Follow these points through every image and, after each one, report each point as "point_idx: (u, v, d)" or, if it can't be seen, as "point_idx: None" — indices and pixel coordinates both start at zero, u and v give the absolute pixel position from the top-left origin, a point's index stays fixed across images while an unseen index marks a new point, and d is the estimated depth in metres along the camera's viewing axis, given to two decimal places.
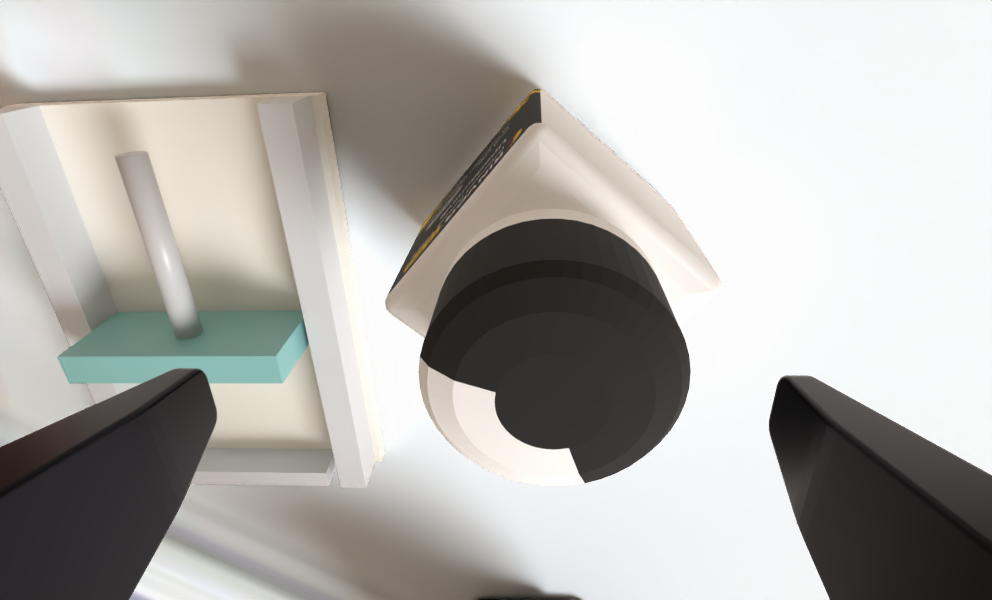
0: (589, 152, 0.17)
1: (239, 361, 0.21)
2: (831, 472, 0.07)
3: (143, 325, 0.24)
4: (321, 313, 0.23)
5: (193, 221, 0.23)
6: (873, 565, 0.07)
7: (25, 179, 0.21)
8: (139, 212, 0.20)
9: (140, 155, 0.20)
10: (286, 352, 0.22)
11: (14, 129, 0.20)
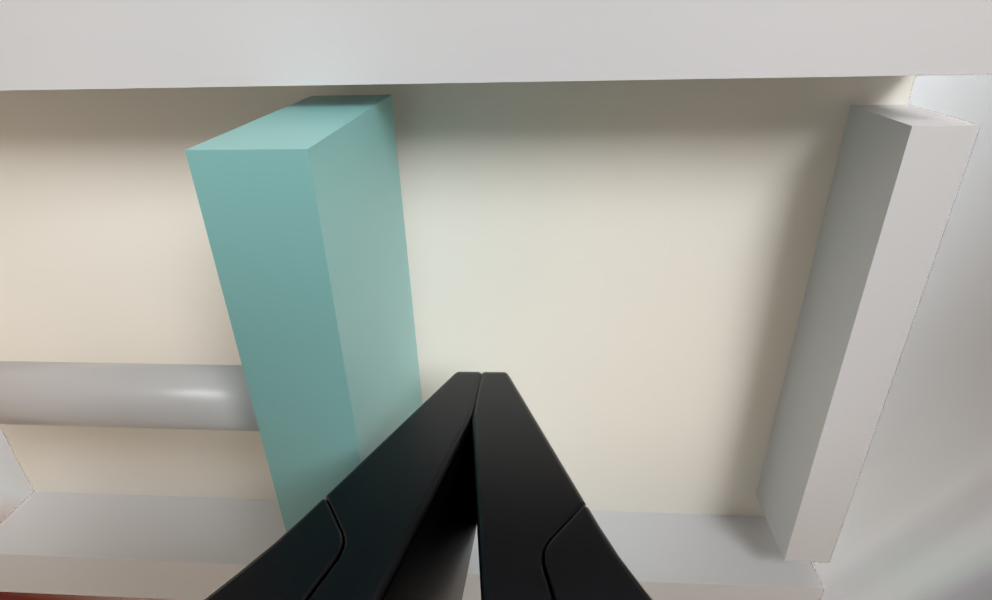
0: None
1: (239, 283, 0.06)
2: (473, 464, 0.07)
3: None
4: (227, 20, 0.07)
5: (167, 321, 0.11)
6: None
7: (77, 561, 0.12)
8: None
9: None
10: (257, 132, 0.06)
11: (5, 544, 0.12)
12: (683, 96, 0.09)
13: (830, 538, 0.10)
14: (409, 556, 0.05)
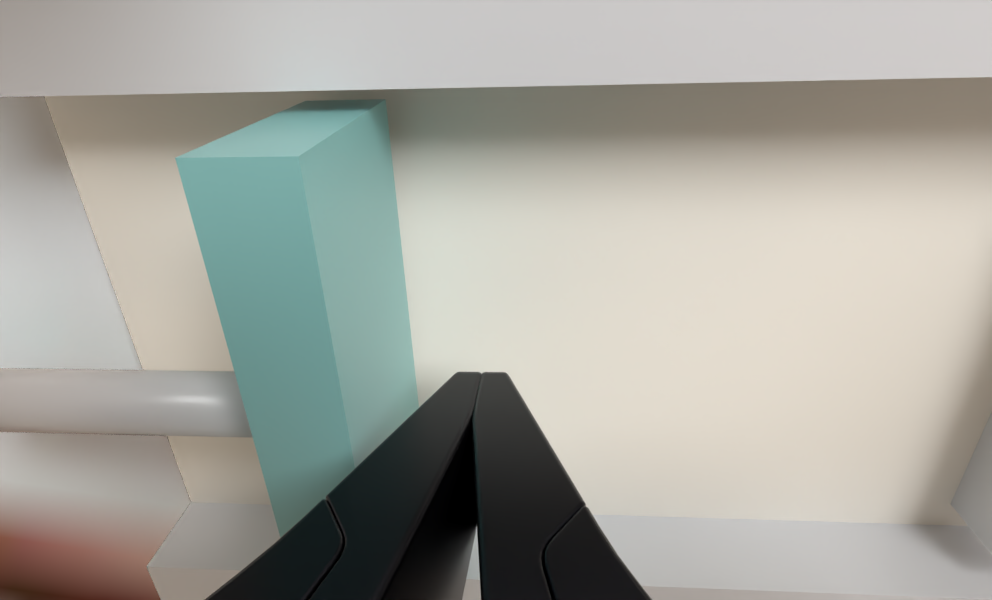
0: None
1: (231, 290, 0.06)
2: None
3: None
4: (541, 16, 0.07)
5: None
6: None
7: None
8: None
9: None
10: (249, 138, 0.06)
11: (179, 557, 0.12)
12: (953, 94, 0.08)
13: None
14: (409, 556, 0.05)
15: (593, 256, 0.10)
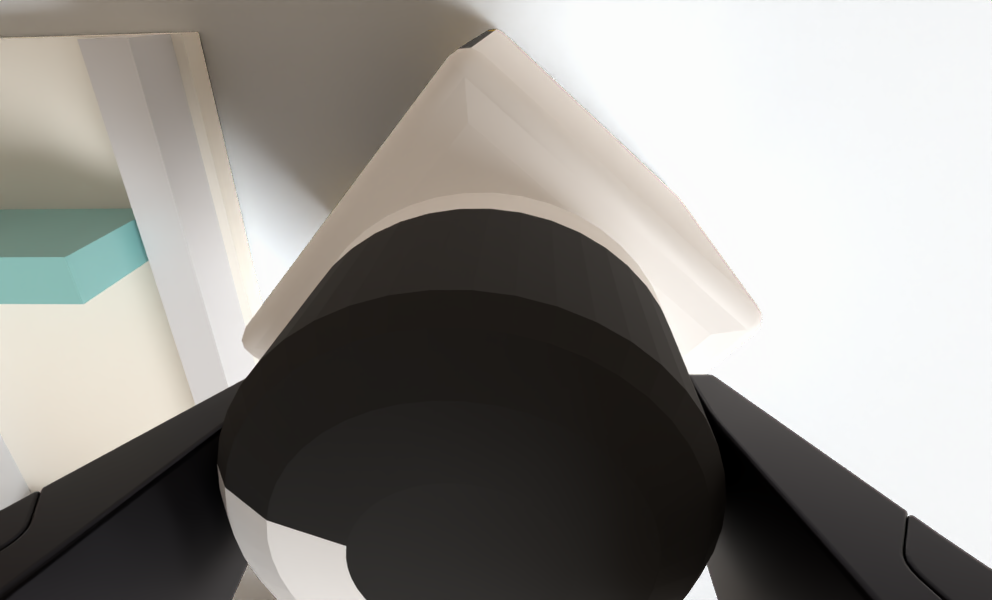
0: (557, 108, 0.11)
1: (11, 266, 0.13)
2: None
3: None
4: (199, 339, 0.17)
5: None
6: (744, 561, 0.07)
7: None
8: None
9: None
10: (95, 257, 0.14)
11: None
12: None
13: None
14: (89, 545, 0.05)
15: (122, 335, 0.19)
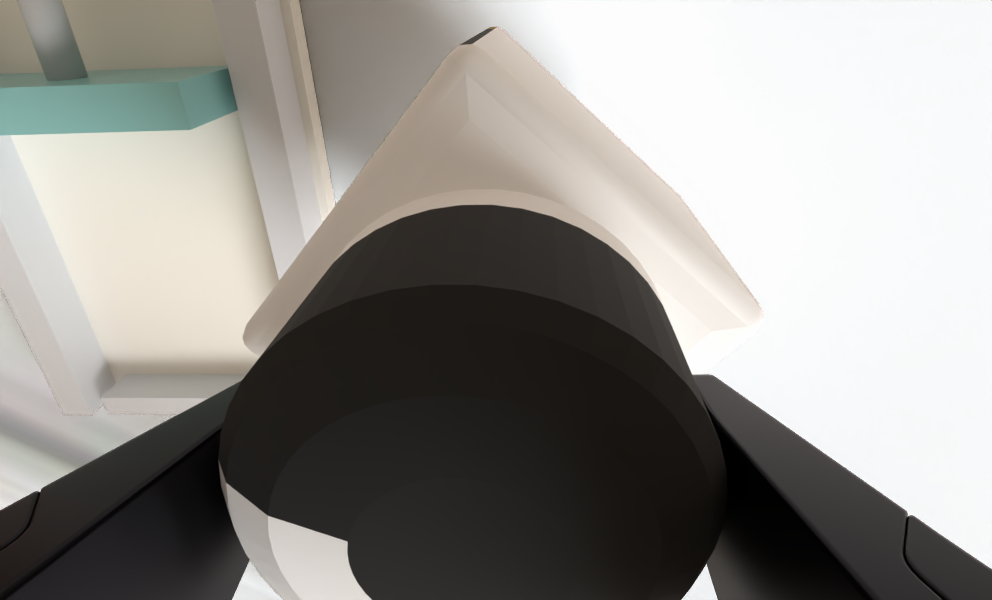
0: (558, 105, 0.11)
1: (127, 92, 0.15)
2: None
3: (9, 77, 0.17)
4: (280, 187, 0.18)
5: None
6: (744, 561, 0.07)
7: None
8: None
9: None
10: (197, 91, 0.16)
11: None
12: None
13: (121, 411, 0.23)
14: (88, 545, 0.05)
15: (201, 200, 0.21)
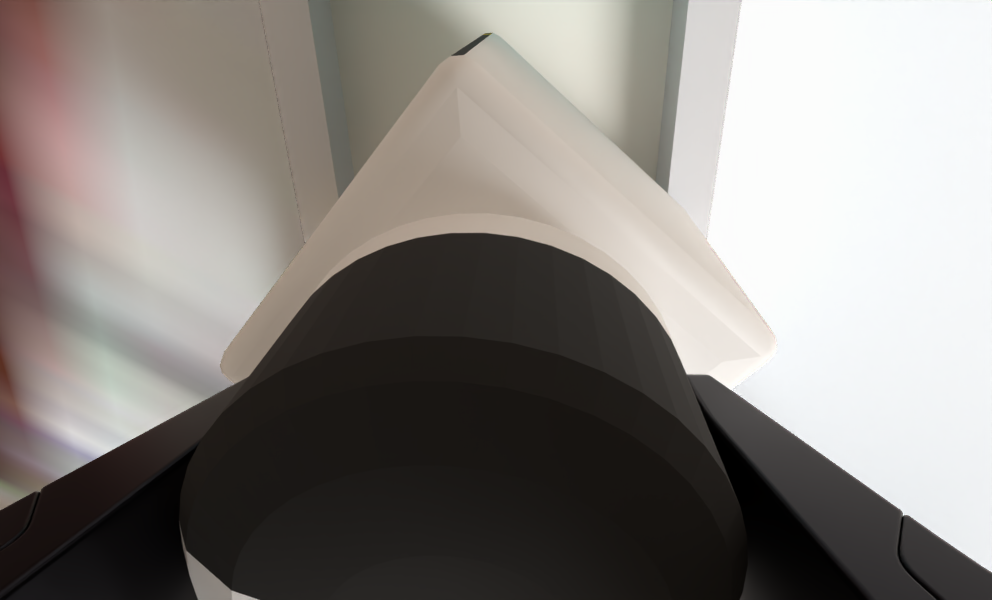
0: (557, 118, 0.10)
1: None
2: None
3: None
4: (716, 46, 0.14)
5: None
6: None
7: None
8: None
9: None
10: None
11: None
12: None
13: None
14: (88, 545, 0.05)
15: (556, 82, 0.16)
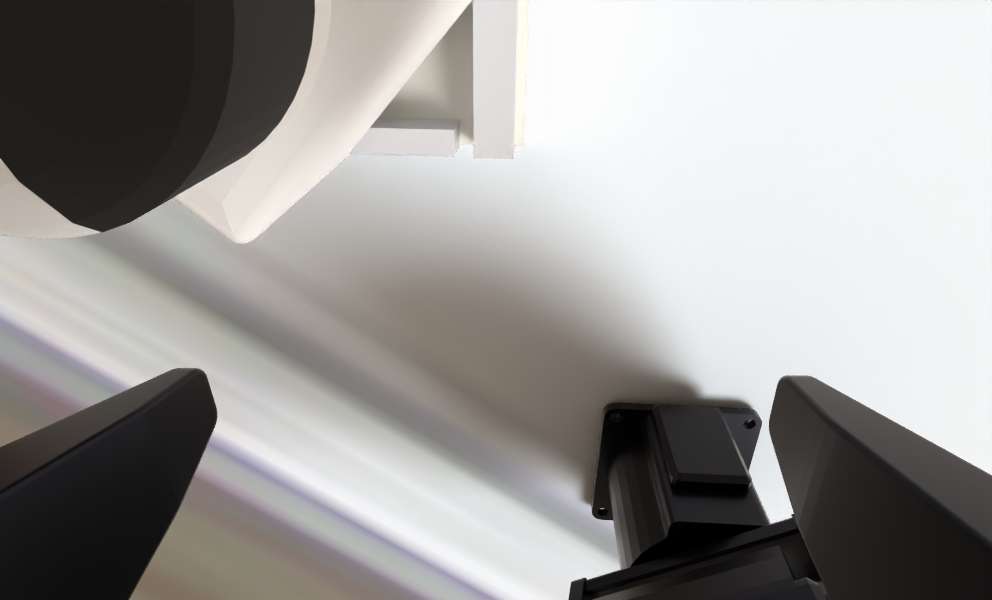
0: None
1: None
2: (831, 472, 0.07)
3: None
4: None
5: None
6: (873, 565, 0.07)
7: None
8: None
9: None
10: None
11: None
12: (463, 37, 0.18)
13: None
14: None
15: None
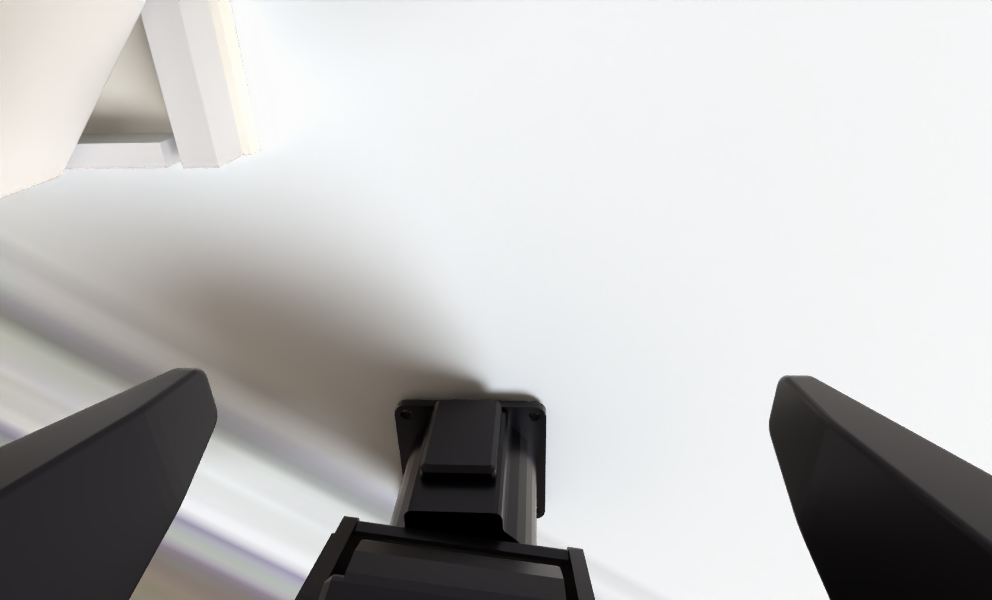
0: None
1: None
2: (831, 472, 0.07)
3: None
4: None
5: None
6: (873, 565, 0.07)
7: None
8: None
9: None
10: None
11: None
12: None
13: None
14: None
15: None
